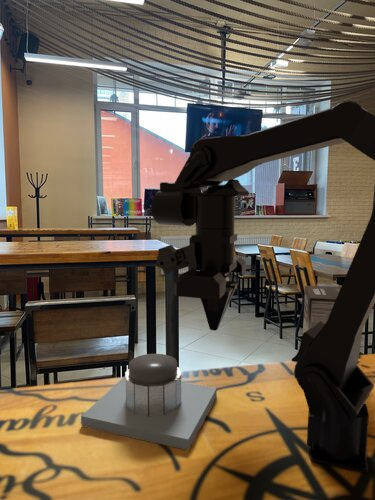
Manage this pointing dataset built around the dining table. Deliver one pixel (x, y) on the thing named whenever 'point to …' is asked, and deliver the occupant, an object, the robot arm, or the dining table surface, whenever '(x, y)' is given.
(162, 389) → the faceted ring
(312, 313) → the coffee box
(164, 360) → the knob
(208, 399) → the mount plate
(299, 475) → the dining table surface
